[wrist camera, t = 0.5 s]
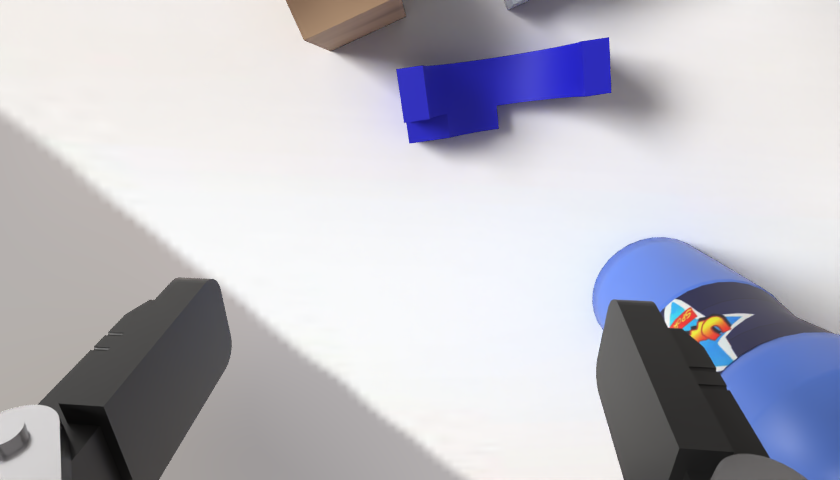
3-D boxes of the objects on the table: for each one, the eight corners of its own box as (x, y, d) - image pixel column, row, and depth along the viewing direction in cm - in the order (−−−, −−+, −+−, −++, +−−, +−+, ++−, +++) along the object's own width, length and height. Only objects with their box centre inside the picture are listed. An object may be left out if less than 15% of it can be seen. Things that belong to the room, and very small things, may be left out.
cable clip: (410, 139, 37) (408, 148, 31) (401, 72, 35) (396, 69, 30) (582, 114, 36) (612, 119, 30) (578, 46, 35) (609, 37, 29)
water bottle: (567, 319, 40) (780, 663, 16) (634, 214, 38) (1001, 431, 14) (669, 368, 41) (1012, 759, 17) (740, 268, 39) (1253, 558, 15)
